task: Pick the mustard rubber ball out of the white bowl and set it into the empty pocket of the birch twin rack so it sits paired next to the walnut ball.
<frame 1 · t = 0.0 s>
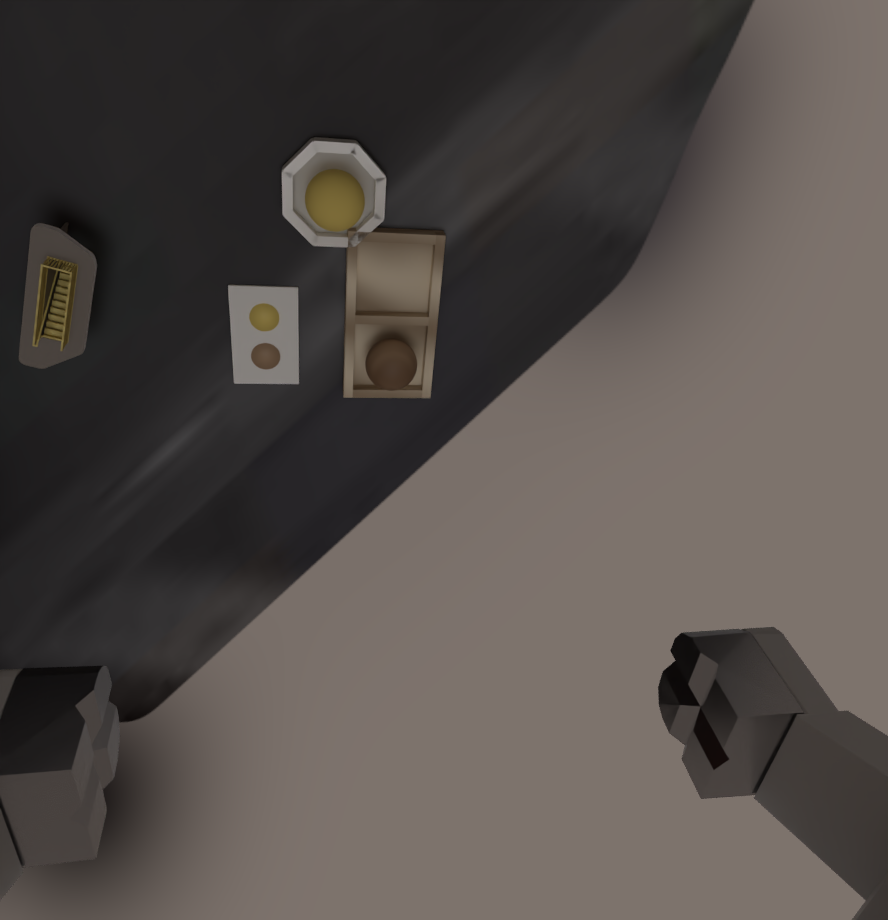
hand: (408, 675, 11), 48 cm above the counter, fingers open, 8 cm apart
twin rack: (390, 314, 59), on the counter
mustard ball: (333, 192, 53), resting on white bowl
white bowl: (333, 191, 54), on the counter
target card: (265, 335, 59), on the counter
walnut ball: (388, 353, 61), resting on twin rack
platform: (76, 276, 55), on the counter
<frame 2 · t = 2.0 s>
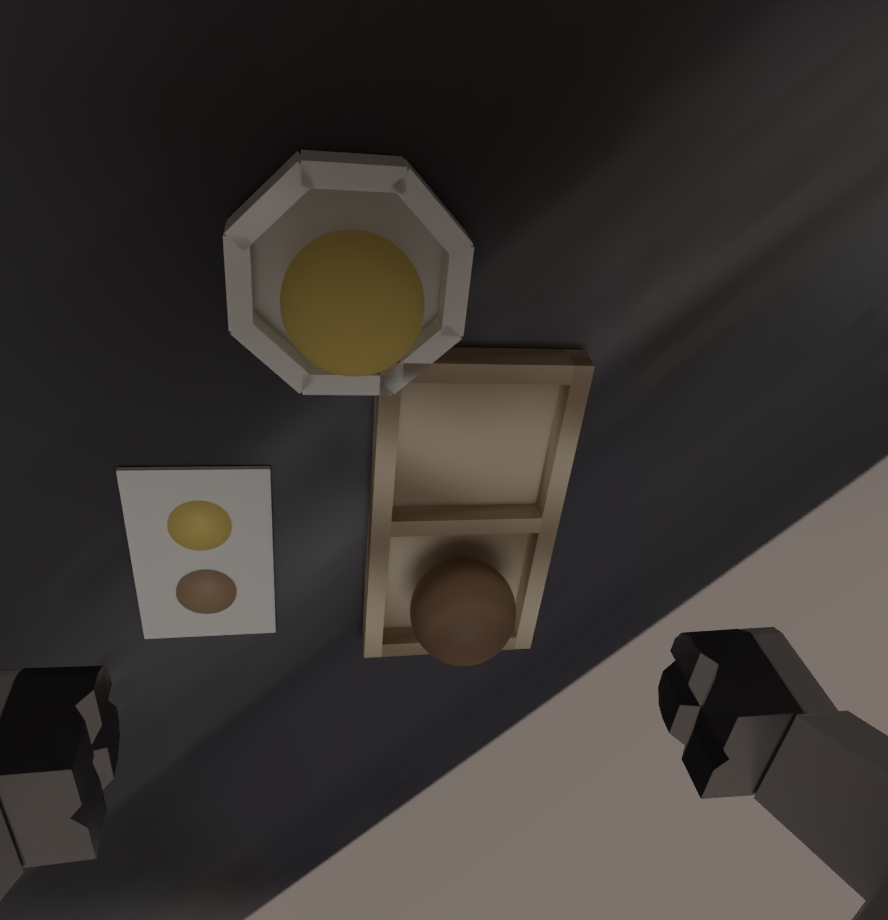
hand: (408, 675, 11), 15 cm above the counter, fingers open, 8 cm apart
twin rack: (461, 507, 29), on the counter
mustard ball: (348, 278, 23), resting on white bowl
white bowl: (348, 274, 23), on the counter
target card: (203, 555, 28), on the counter
walnut ball: (453, 575, 31), resting on twin rack
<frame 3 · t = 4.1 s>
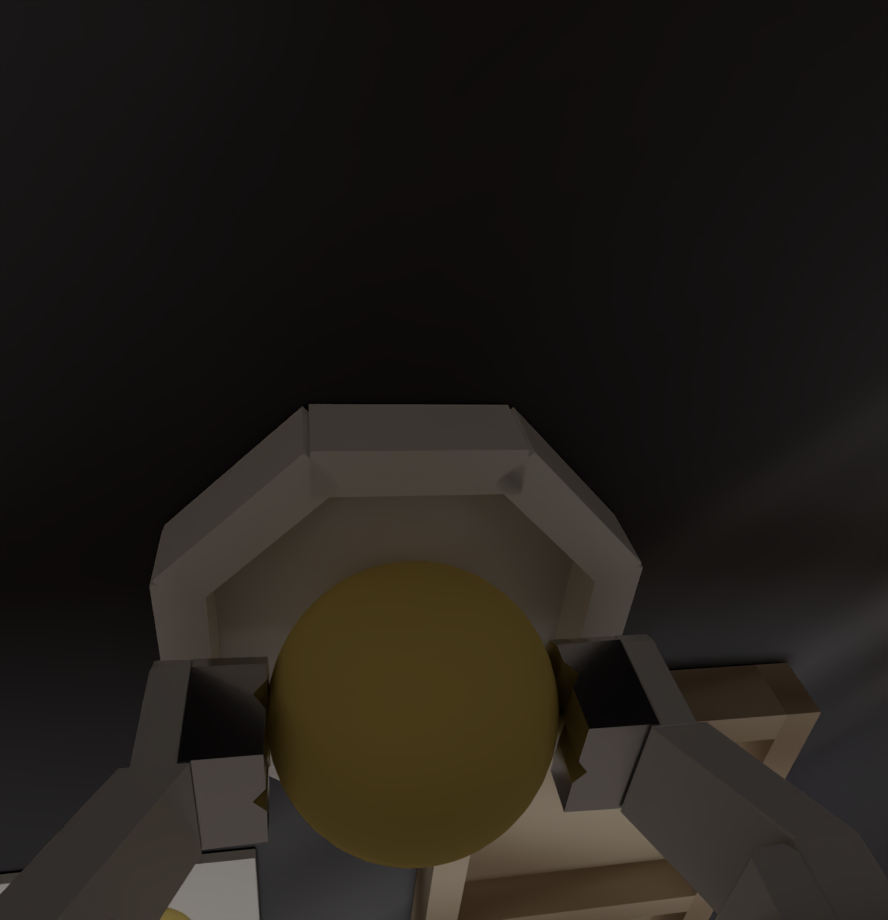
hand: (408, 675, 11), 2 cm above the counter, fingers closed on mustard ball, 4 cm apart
twin rack: (561, 865, 18), on the counter
mustard ball: (397, 604, 12), resting on white bowl, touching gripper
white bowl: (395, 591, 13), on the counter
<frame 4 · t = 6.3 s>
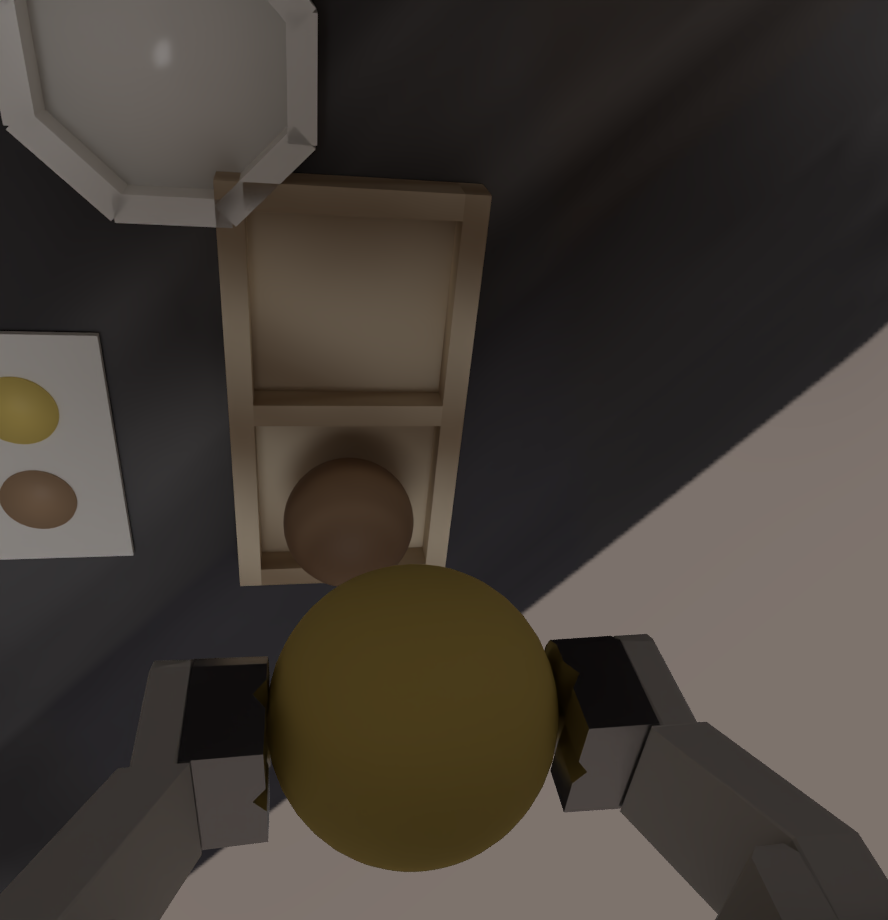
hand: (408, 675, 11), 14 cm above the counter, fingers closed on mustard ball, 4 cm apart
twin rack: (347, 396, 24), on the counter
mustard ball: (397, 607, 12), point 12 cm above the counter, touching gripper
white bowl: (166, 62, 18), on the counter
target card: (30, 452, 23), on the counter
walnut ball: (345, 484, 25), resting on twin rack
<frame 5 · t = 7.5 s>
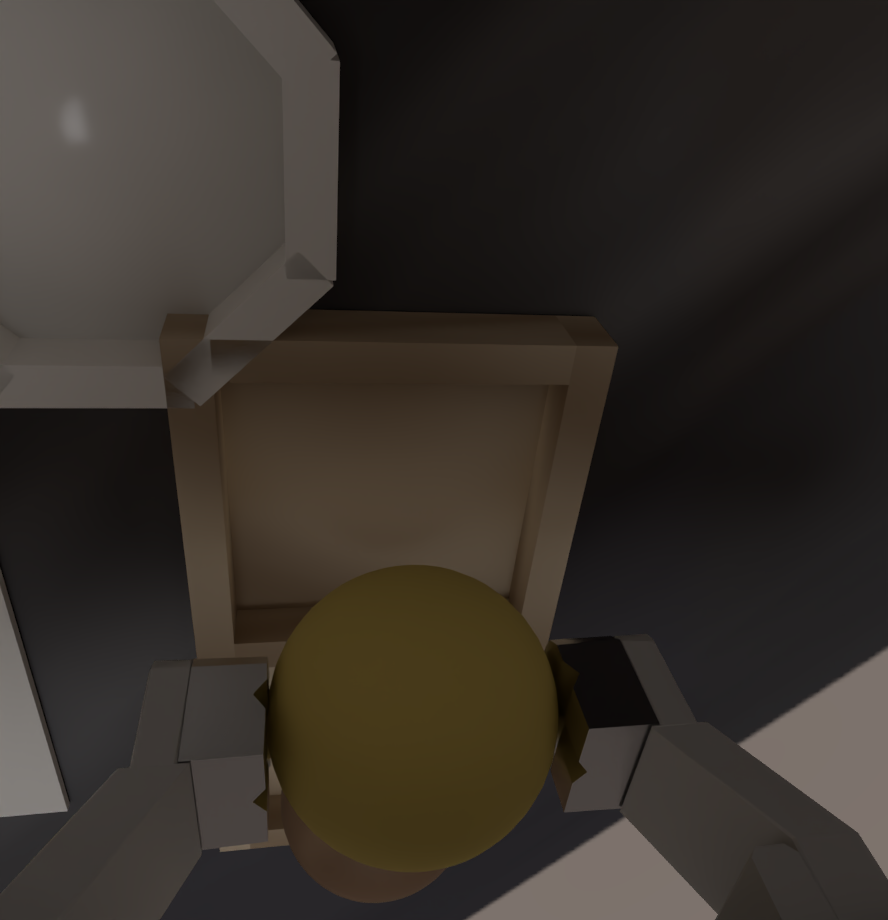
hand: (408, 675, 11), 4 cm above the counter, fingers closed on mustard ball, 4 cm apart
twin rack: (375, 605, 16), on the counter
mustard ball: (397, 608, 12), point 3 cm above the counter, touching gripper
white bowl: (75, 142, 10), on the counter
walnut ball: (370, 714, 18), resting on twin rack
when the fingers open (3 cm above the counter, at t = 8.5 s): mustard ball drops 1 cm, resting on twin rack.
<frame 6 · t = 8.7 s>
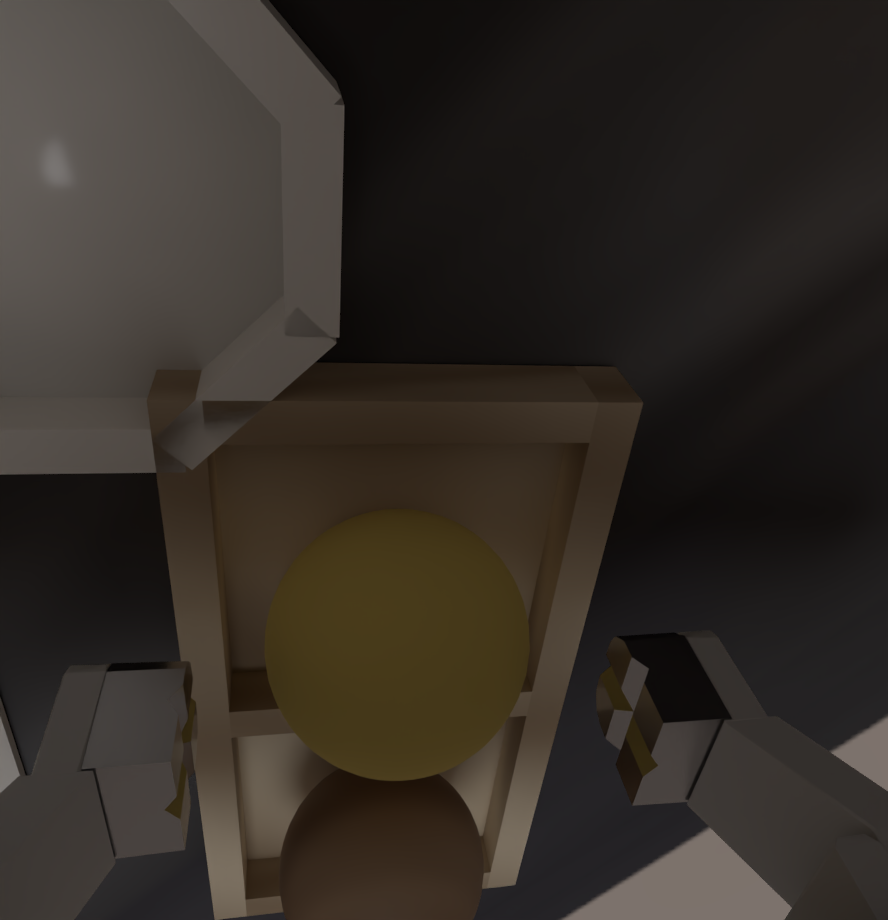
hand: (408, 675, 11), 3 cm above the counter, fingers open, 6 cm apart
twin rack: (379, 664, 15), on the counter
mustard ball: (389, 554, 13), resting on twin rack
white bowl: (56, 189, 10), on the counter
walnut ball: (373, 775, 17), resting on twin rack
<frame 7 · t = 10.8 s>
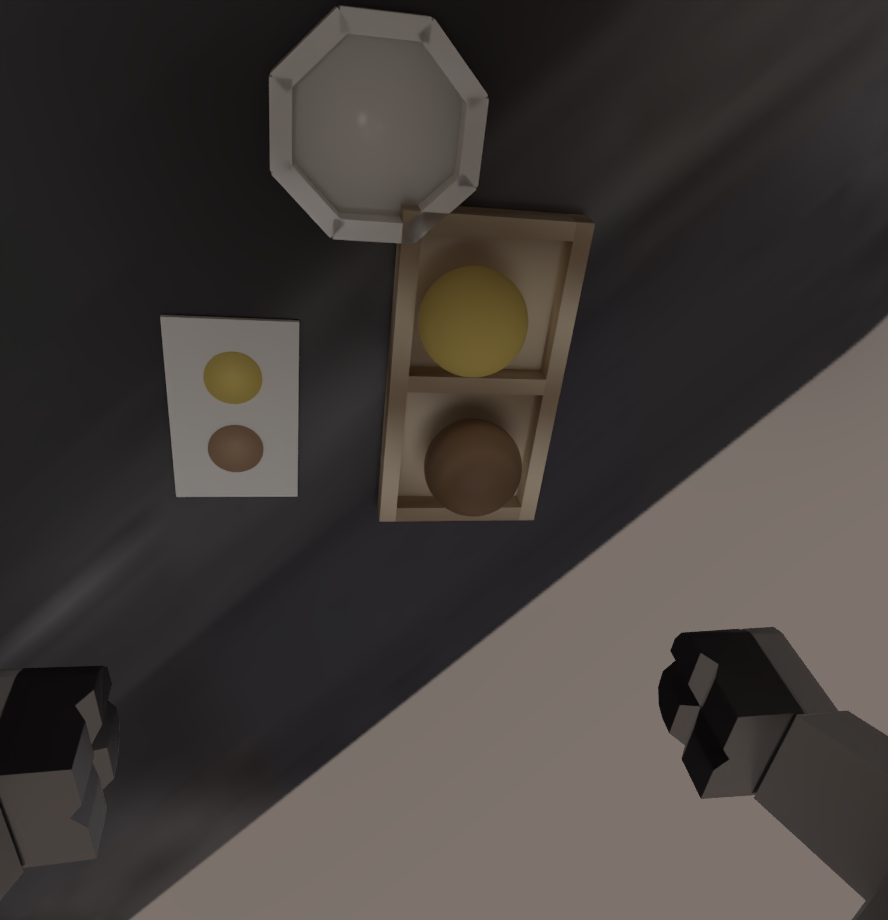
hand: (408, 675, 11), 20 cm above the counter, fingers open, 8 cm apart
twin rack: (471, 372, 32), on the counter
mustard ball: (483, 304, 30), resting on twin rack, tilted 23°
white bowl: (376, 128, 26), on the counter
target card: (234, 411, 31), on the counter
walnut ball: (463, 442, 33), resting on twin rack
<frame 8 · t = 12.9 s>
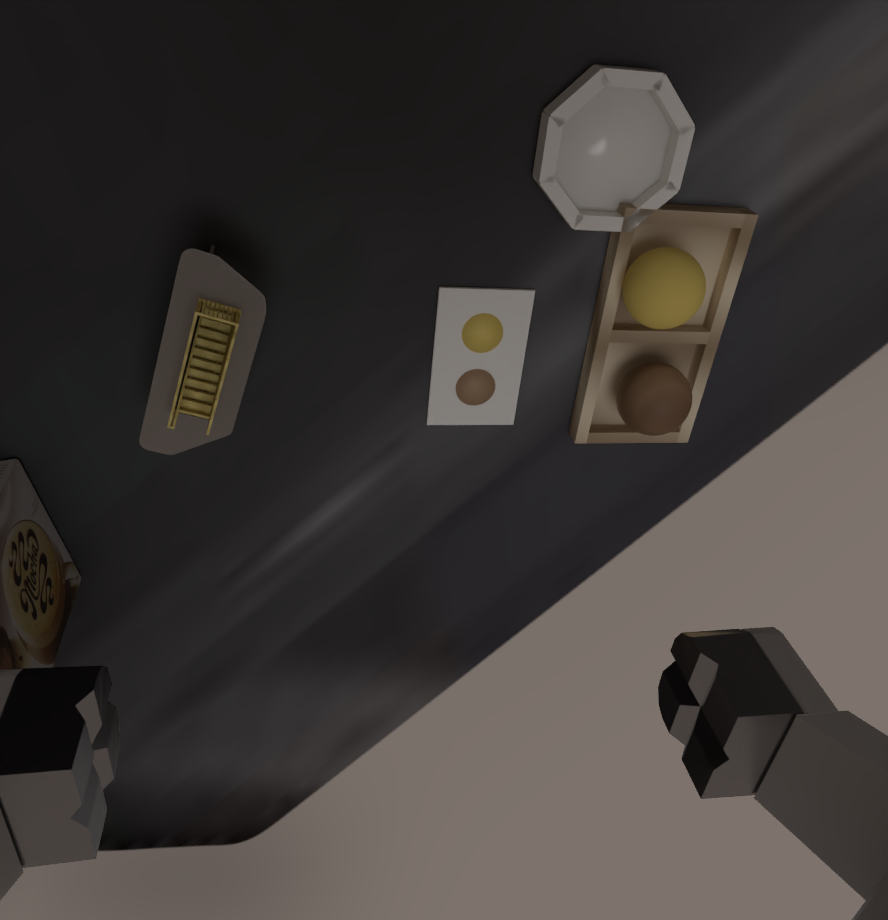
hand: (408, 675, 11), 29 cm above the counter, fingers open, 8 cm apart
twin rack: (651, 328, 42), on the counter
mustard ball: (669, 277, 40), point 1 cm above the counter, tilted 31°, touching twin rack
white bowl: (608, 149, 36), on the counter
target card: (478, 359, 41), on the counter
walnut ball: (640, 381, 43), resting on twin rack
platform: (213, 320, 38), on the counter
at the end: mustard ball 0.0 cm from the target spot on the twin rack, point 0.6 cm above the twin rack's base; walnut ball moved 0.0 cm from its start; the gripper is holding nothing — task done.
